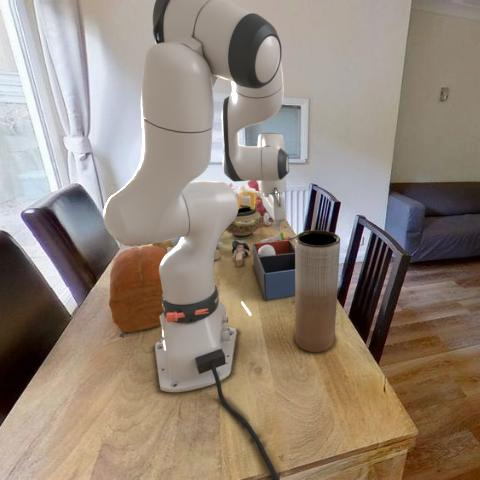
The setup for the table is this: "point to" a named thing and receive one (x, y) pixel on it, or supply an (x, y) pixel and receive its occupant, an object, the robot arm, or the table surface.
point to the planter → (316, 289)
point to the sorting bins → (276, 269)
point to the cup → (273, 238)
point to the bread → (137, 288)
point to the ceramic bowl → (245, 223)
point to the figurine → (167, 243)
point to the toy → (259, 203)
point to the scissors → (290, 237)
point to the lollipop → (266, 251)
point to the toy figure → (240, 251)
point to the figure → (247, 196)
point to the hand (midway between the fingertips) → (273, 225)
